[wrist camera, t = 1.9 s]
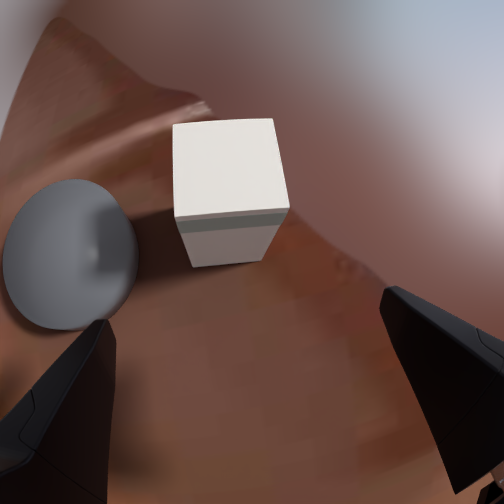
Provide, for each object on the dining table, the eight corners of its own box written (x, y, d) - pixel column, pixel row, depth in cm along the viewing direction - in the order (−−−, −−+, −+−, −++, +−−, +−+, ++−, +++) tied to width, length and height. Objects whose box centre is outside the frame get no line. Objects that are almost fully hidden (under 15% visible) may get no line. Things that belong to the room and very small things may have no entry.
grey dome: (163, 288, 22) (155, 281, 19) (49, 353, 20) (29, 354, 17) (109, 173, 24) (98, 154, 21) (10, 236, 22) (-8, 225, 19)
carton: (261, 261, 23) (290, 207, 14) (192, 267, 23) (174, 217, 13) (252, 198, 25) (272, 118, 15) (188, 203, 24) (172, 124, 14)
